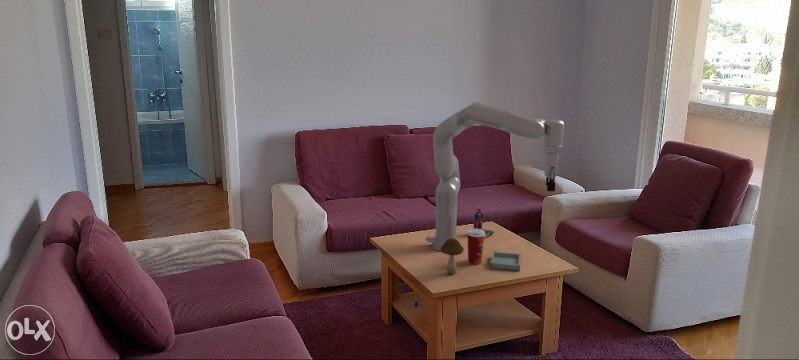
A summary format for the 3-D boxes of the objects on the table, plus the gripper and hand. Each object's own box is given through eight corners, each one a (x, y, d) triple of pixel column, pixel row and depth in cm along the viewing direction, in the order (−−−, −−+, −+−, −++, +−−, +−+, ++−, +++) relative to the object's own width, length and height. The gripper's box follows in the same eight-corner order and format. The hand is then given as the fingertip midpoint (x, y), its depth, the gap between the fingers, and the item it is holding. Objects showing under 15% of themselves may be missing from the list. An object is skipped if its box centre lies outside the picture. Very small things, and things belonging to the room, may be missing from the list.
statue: (483, 242, 280) (483, 213, 275) (466, 237, 285) (466, 209, 280) (494, 233, 288) (494, 205, 282) (478, 229, 293) (478, 201, 288)
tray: (490, 268, 244) (490, 263, 243) (492, 256, 257) (492, 251, 256) (519, 271, 241) (519, 265, 240) (520, 259, 254) (520, 253, 254)
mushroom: (462, 268, 244) (463, 234, 240) (462, 279, 233) (464, 243, 229) (440, 267, 244) (441, 233, 241) (439, 278, 233) (440, 242, 230)
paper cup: (483, 266, 246) (484, 234, 243) (465, 264, 248) (466, 233, 245) (484, 259, 254) (485, 228, 251) (466, 258, 255) (467, 227, 252)
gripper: (543, 145, 256) (540, 183, 260) (544, 152, 240) (541, 192, 244) (560, 145, 255) (558, 184, 259) (563, 153, 238) (560, 193, 242)
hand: (550, 188), depth 251 cm, fingers open, 9 cm apart
